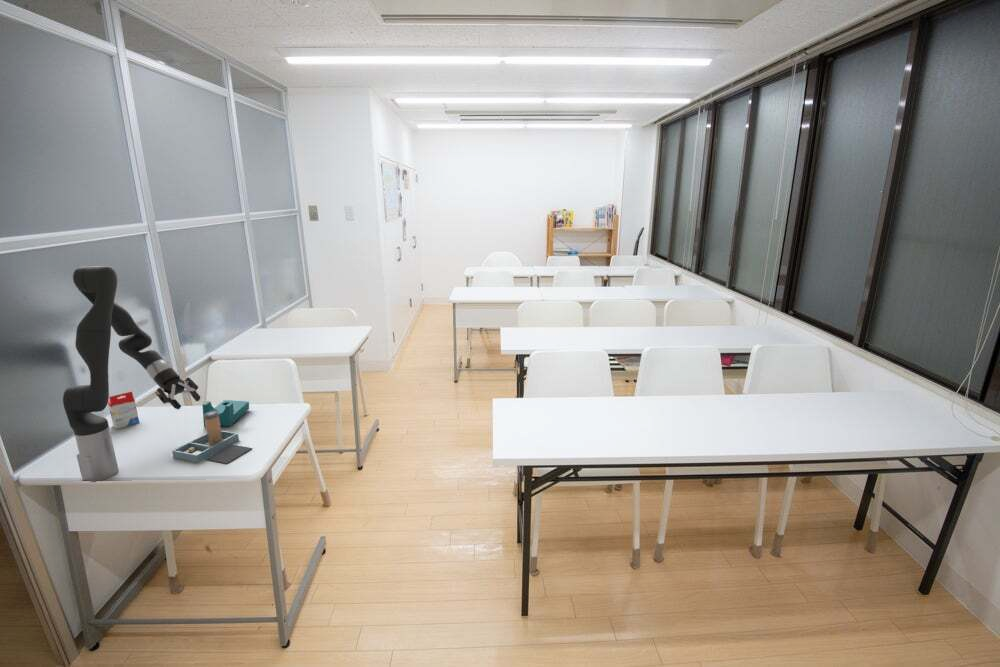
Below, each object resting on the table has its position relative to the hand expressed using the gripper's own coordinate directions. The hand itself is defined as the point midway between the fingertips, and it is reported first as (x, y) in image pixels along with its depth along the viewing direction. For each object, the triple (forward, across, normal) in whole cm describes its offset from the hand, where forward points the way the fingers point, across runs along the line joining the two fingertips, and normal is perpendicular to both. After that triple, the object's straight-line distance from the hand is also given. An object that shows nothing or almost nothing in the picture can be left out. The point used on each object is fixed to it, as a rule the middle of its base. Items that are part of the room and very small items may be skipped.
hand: (189, 403), depth 193 cm
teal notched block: (+8, +20, +15) cm, 26 cm away
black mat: (+27, -5, -5) cm, 28 cm away
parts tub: (+18, -4, +4) cm, 19 cm away
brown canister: (+19, 0, +4) cm, 19 cm away
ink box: (-18, +2, +41) cm, 45 cm away
